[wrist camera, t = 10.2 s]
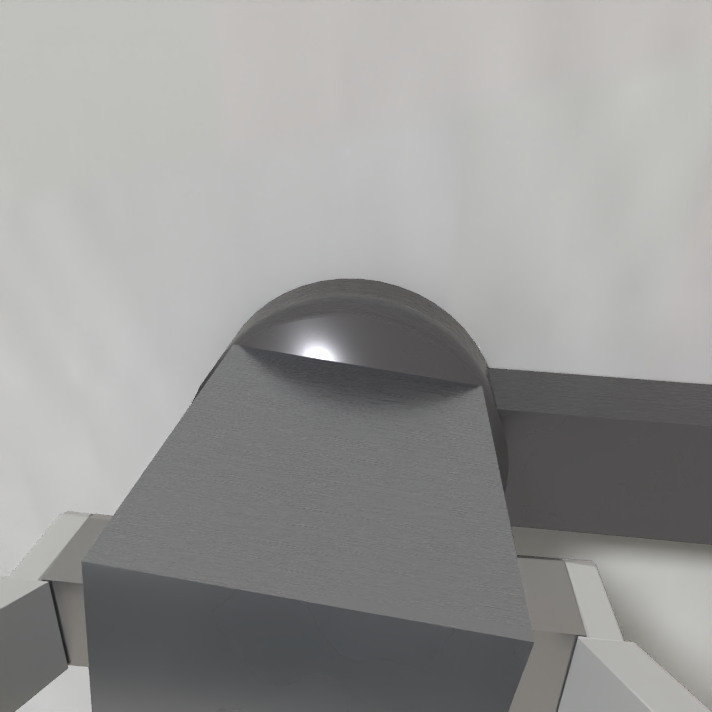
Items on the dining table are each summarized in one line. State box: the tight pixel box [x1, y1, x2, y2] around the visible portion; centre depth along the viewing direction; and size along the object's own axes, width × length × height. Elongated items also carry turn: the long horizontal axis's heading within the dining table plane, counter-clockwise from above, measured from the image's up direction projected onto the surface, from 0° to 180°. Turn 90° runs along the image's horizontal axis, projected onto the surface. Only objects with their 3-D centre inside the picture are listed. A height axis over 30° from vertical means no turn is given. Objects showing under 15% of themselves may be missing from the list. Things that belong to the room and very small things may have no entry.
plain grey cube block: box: [81, 344, 534, 712], centre depth 10 cm, size 5×5×6 cm
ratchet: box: [192, 279, 712, 545], centre depth 12 cm, size 7×19×6 cm, turn 88°
